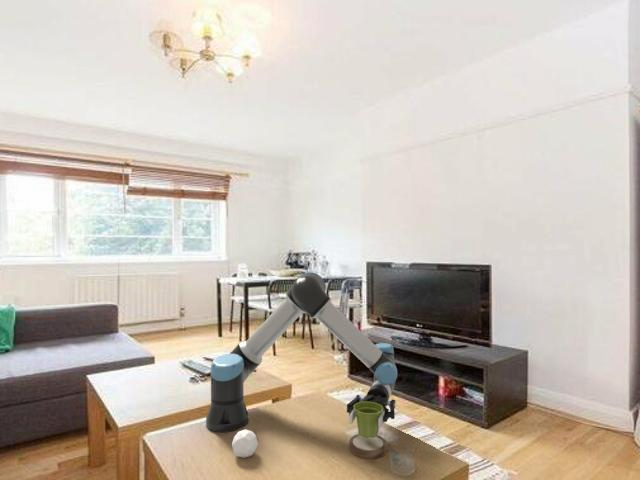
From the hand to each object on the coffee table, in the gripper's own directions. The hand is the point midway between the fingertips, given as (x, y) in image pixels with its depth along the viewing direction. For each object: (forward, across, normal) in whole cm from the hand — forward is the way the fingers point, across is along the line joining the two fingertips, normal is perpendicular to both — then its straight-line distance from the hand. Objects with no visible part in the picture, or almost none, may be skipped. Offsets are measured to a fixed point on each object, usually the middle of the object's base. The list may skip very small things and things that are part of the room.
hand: (364, 421), depth 126 cm
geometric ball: (+12, +35, -11) cm, 39 cm away
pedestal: (-5, 0, -11) cm, 12 cm away
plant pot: (-5, 0, -6) cm, 8 cm away
